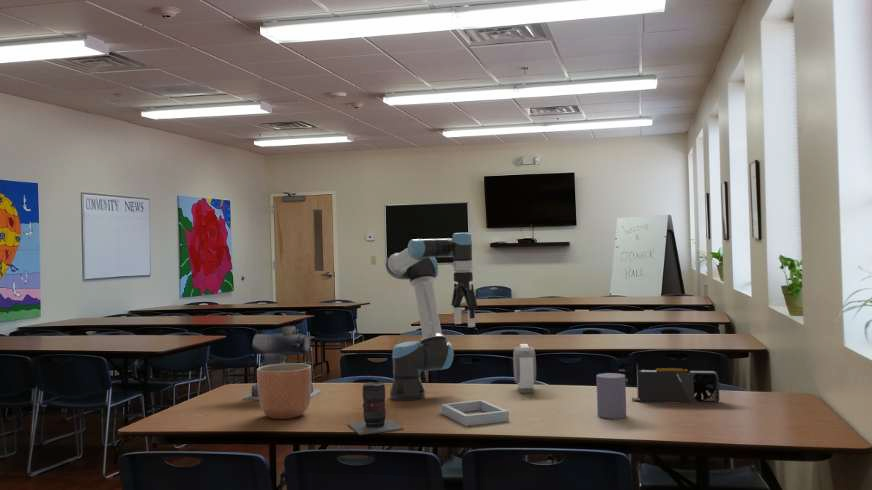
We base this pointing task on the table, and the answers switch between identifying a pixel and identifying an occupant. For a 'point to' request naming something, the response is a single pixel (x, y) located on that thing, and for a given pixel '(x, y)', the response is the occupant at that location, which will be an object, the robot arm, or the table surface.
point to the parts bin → (490, 416)
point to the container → (611, 395)
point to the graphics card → (676, 386)
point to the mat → (387, 427)
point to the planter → (284, 389)
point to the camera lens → (374, 404)
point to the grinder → (279, 351)
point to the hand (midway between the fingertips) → (464, 325)
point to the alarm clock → (524, 367)
